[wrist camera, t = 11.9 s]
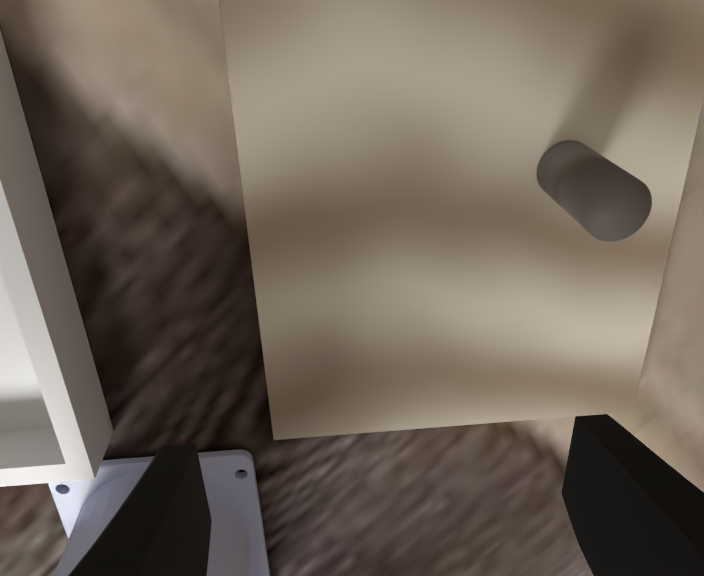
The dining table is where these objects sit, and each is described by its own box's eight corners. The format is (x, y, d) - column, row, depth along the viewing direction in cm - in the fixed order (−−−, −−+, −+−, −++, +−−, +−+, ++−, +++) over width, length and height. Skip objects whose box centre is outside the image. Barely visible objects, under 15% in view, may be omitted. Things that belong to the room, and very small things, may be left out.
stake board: (620, 395, 25) (683, 479, 21) (274, 422, 24) (269, 515, 20) (716, -56, 17) (843, -62, 13) (218, -36, 17) (193, -35, 13)
